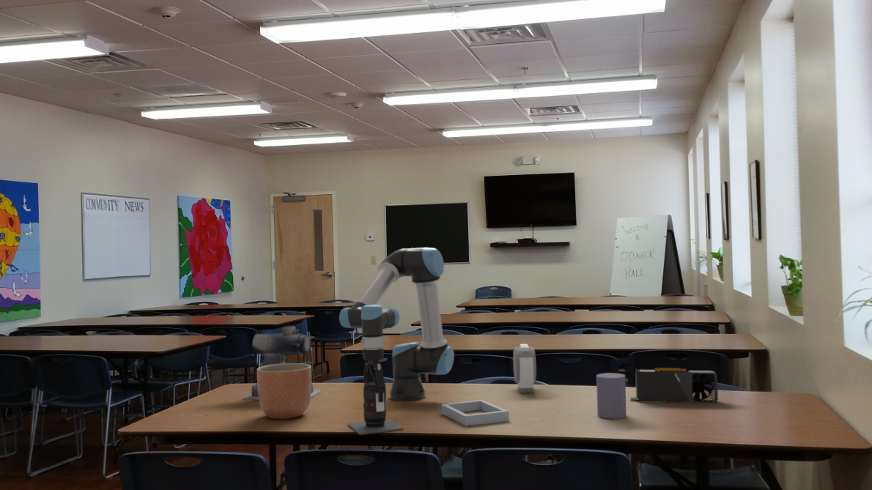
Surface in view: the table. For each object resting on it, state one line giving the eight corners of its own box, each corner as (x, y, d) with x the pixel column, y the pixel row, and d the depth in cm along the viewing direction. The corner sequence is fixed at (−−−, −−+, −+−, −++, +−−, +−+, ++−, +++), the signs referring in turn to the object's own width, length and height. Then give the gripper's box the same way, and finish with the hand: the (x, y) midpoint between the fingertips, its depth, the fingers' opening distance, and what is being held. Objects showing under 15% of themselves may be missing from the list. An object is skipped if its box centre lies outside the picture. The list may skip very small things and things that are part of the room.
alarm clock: (537, 393, 320) (535, 346, 320) (517, 394, 320) (516, 347, 320) (532, 386, 338) (531, 341, 338) (513, 386, 338) (512, 342, 338)
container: (610, 420, 268) (609, 379, 268) (591, 415, 277) (590, 375, 277) (632, 417, 272) (631, 376, 273) (613, 412, 282) (612, 372, 282)
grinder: (258, 391, 346) (256, 325, 346) (322, 392, 340) (320, 324, 340) (240, 399, 327) (238, 329, 328) (308, 400, 322) (306, 328, 322)
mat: (347, 425, 273) (347, 423, 273) (389, 420, 278) (389, 418, 278) (359, 435, 258) (359, 433, 258) (403, 429, 263) (403, 427, 263)
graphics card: (630, 401, 299) (629, 366, 299) (630, 399, 304) (629, 364, 304) (718, 404, 291) (717, 367, 291) (716, 401, 296) (715, 365, 296)
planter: (253, 414, 297) (252, 366, 297) (305, 408, 305) (304, 361, 305) (263, 424, 278) (262, 373, 278) (318, 418, 286) (316, 368, 286)
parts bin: (441, 413, 288) (441, 404, 288) (482, 408, 294) (482, 399, 294) (465, 426, 266) (465, 416, 266) (509, 420, 272) (508, 411, 272)
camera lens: (383, 428, 264) (382, 385, 264) (361, 427, 265) (360, 385, 265) (389, 423, 271) (388, 381, 272) (367, 422, 273) (366, 381, 273)
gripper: (353, 345, 279) (355, 402, 279) (372, 353, 255) (374, 415, 255) (373, 343, 281) (375, 399, 281) (393, 351, 258) (395, 413, 258)
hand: (374, 407), depth 268 cm, fingers open, 13 cm apart
